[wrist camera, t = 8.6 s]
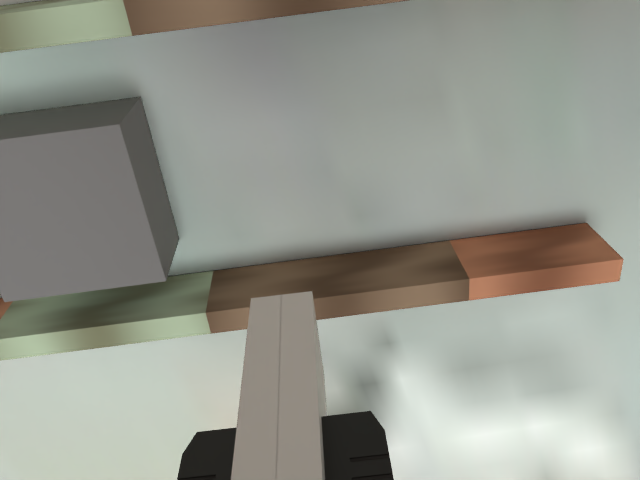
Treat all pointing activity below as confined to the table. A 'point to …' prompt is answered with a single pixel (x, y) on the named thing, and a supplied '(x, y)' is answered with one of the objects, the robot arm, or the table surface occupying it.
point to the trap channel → (283, 277)
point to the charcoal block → (81, 201)
